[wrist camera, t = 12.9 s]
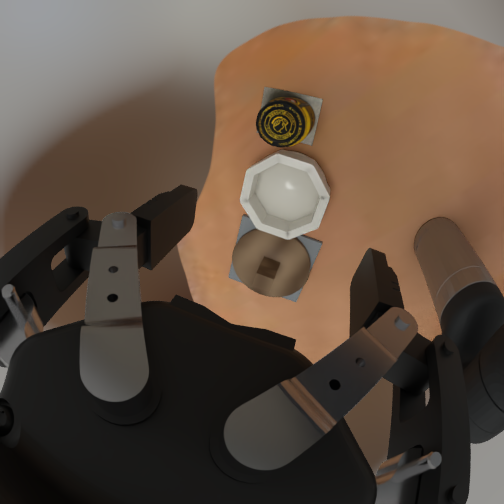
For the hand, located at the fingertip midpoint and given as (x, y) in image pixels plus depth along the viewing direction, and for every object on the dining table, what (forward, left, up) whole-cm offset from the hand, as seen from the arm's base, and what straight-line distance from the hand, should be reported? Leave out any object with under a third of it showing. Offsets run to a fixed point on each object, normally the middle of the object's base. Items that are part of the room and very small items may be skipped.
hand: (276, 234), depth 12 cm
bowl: (+2, +9, -30) cm, 31 cm away
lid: (+1, +23, -29) cm, 37 cm away
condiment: (+5, -2, -30) cm, 31 cm away
